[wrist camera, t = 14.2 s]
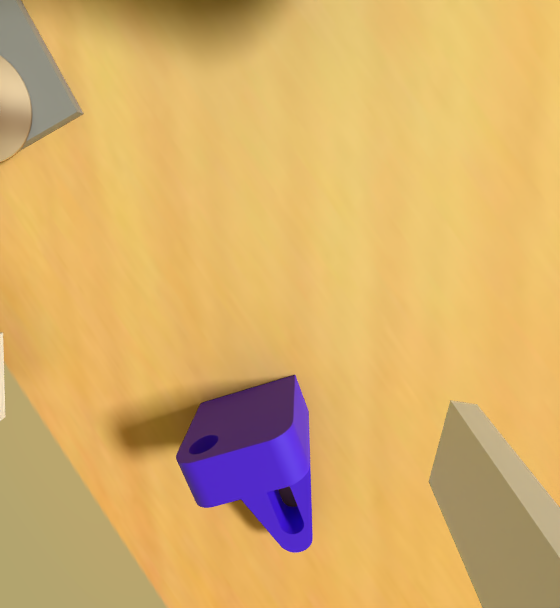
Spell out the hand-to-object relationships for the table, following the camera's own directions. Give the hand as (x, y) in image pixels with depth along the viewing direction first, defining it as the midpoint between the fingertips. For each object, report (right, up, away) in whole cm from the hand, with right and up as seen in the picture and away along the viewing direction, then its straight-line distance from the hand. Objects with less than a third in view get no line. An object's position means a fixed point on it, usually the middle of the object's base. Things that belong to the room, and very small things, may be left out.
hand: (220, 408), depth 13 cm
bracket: (+1, -14, +37) cm, 40 cm away
